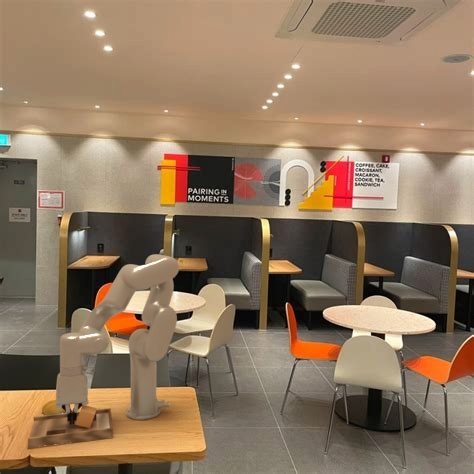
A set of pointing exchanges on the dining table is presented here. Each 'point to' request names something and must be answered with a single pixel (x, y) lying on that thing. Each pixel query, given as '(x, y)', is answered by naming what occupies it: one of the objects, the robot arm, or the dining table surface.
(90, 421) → the orange block
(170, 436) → the dining table surface
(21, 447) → the dining table surface
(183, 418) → the dining table surface
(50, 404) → the bread roll
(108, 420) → the box
